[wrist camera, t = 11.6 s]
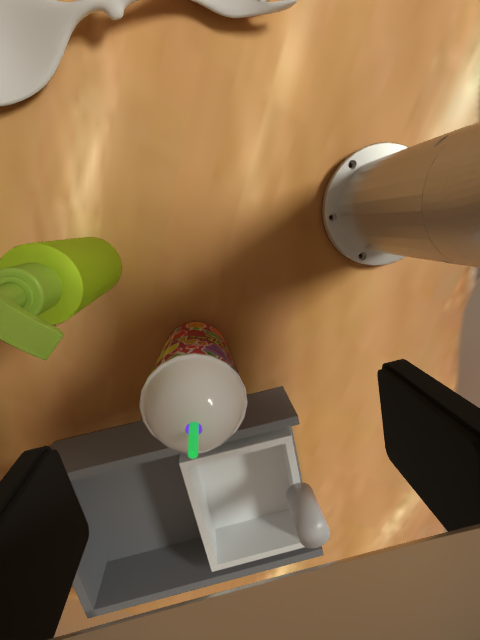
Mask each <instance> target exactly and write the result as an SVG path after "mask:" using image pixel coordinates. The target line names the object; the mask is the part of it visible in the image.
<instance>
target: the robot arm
mask: <svg viewBox="0 0 480 640" xmlns="http://www.w3.org/2000/svg"><path fill="white" fill-rule="evenodd" d="M349 163H350V164H351V168H349V166H348V164H349ZM322 213H323V223H324V226H325V230H326V233H327V235H328V237H329V239H330V241H331V243H332V244H333V245H334V247H335V248H336V249H337V250H338V251H339V252H340V253H341V254H342V255H344V256H345V257H346V258H348V259H350V260H352V261H354V262H357V263H361V264H365V265H371V266H377V265H386V264H390V263H393V262H396V261H398V260H400V259H402V258H404V257H405V256H407V257H413V258H420V259H426V260H432V261H439V262H445V263H452V264H459V265H467V266H473V267H480V121H479V122H476V123H474V124H471V125H469V126H466V127H463V128H461V129H458V130H455V131H453V132H450V133H447V134H444V135H442V136H439V137H436V138H434V139H431V140H428V141H425V142H423V143H420V144H417V145H415V146H412V147H407V146H404V145H401V144H398V143H390V142H384V143H375V144H372V145H369V146H366V147H364V148H362V149H360V150H358V151H356V152H354V153H353V154H351V155H350V156H349V157H347V158H346V159H345V160H344V161H343V162H342V163H341V164H340V165H339V166H338V167H337V169H336V170H335V172H334V173H333V175H332V176H331V178H330V180H329V183H328V185H327V187H326V190H325V194H324V198H323V208H322ZM330 215H331V216H332V219H331V220H329V216H330ZM359 254H361V257H360V258H359ZM378 384H379V394H380V403H381V412H382V421H383V430H384V439H385V448H386V452H387V455H388V457H389V459H390V460H391V462H392V463H393V464H394V466H395V467H396V468H397V469H398V470H399V472H400V473H401V474H402V475H403V477H404V478H405V479H406V480H407V482H408V483H409V484H410V485H411V487H412V488H413V489H414V490H415V491H416V493H417V494H418V495H419V496H420V498H421V499H422V500H423V501H424V503H425V504H426V505H427V506H428V508H429V509H430V510H431V511H432V512H433V514H434V515H435V516H436V517H437V519H438V520H439V521H440V522H441V524H442V525H443V526H444V527H445V529H446V530H447V531H448V532H446V533H442V534H438V535H434V536H430V537H426V538H421V539H417V540H414V541H410V542H406V543H402V544H398V545H395V546H391V547H387V548H383V549H380V550H376V551H372V552H368V553H364V554H361V555H357V556H353V557H349V558H345V559H342V560H338V561H334V562H330V563H327V564H323V565H319V566H315V567H311V568H308V569H304V570H300V571H296V572H293V573H289V574H285V575H281V576H278V577H274V578H270V579H267V580H263V581H259V582H256V583H252V584H248V585H244V586H241V587H237V588H233V589H230V590H226V591H222V592H219V593H215V594H211V595H208V596H204V597H200V598H197V599H193V600H189V601H185V602H182V603H178V604H174V605H171V606H167V607H163V608H160V609H156V610H152V611H149V612H145V613H142V614H138V615H134V616H131V617H127V618H124V619H120V620H117V621H113V622H109V623H106V624H102V625H98V626H95V627H91V628H88V629H84V630H80V631H77V632H73V633H70V634H66V635H62V636H59V637H55V638H53V637H54V635H55V632H56V629H57V626H58V623H59V620H60V618H61V615H62V612H63V609H64V606H65V603H66V601H67V598H68V595H69V592H70V589H71V587H72V584H73V581H74V578H75V575H76V573H77V570H78V567H79V564H80V561H81V558H82V556H83V553H84V550H85V547H86V544H87V541H88V538H89V526H88V523H87V520H86V518H85V515H84V513H83V510H82V508H81V506H80V503H79V501H78V498H77V496H76V493H75V491H74V489H73V486H72V484H71V481H70V479H69V476H68V474H67V472H66V469H65V467H64V464H63V462H62V459H61V457H60V454H59V453H58V451H57V450H55V449H53V450H52V449H51V448H50V447H49V446H44V447H40V448H36V449H31V450H27V451H24V452H23V453H22V454H21V456H20V457H19V458H18V459H17V461H16V462H15V463H14V465H13V466H12V467H11V468H10V470H9V471H8V472H7V474H6V475H5V476H4V478H3V479H2V480H1V481H0V640H480V408H478V407H477V406H475V405H474V404H472V403H471V402H469V401H468V400H466V399H465V398H463V397H461V396H460V395H458V394H457V393H455V392H454V391H452V390H451V389H449V388H448V387H446V386H445V385H443V384H442V383H440V382H439V381H437V380H436V379H434V378H432V377H431V376H429V375H428V374H426V373H425V372H423V371H422V370H420V369H419V368H417V367H416V366H414V365H413V364H411V363H410V362H408V361H407V360H405V359H401V360H397V361H392V362H388V363H384V364H383V366H382V369H381V370H378Z"/></svg>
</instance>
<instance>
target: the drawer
mask: <svg viewBox="0 0 480 640" xmlns="http://www.w3.org/2000/svg"><path fill="white" fill-rule="evenodd" d="M179 465H180V468H181V472H182V475H183V478H184V482H185V485H186V488H187V491H188V495H189V498H190V501H191V505H192V508H193V511H194V515H195V518H196V521H197V525H198V528H199V531H200V534H201V538H202V541H203V544H204V548H205V551H206V554H207V558H208V561H209V564H210V567H211V571H212V572H214V571H218V570H221V569H225V568H229V567H233V566H236V565H240V564H244V563H248V562H251V561H255V560H259V559H263V558H266V557H270V556H274V555H278V554H281V553H285V552H289V551H292V550H296V549H300V548H304V547H307V548H318V547H321V546H322V545H324V544H325V543H326V542H327V541H328V539H329V537H330V530H329V528H328V526H327V523H326V521H325V519H324V516H323V514H322V512H321V509H320V507H319V504H318V502H317V500H316V497H315V495H314V493H313V490H312V488H311V487H310V485H308V484H306V483H303V482H301V481H300V476H299V471H298V466H297V461H296V455H295V450H294V445H293V440H292V435H291V433H290V430H289V428H288V427H286V428H282V429H278V430H274V431H270V432H266V433H262V434H258V435H254V436H250V437H246V438H242V439H238V440H234V441H230V442H226V443H222V444H221V445H220V446H218V447H216V448H214V449H212V450H210V451H208V452H203V453H198V456H197V457H196V458H195V459H191V458H189V457H188V454H187V453H182V454H180V458H179Z"/></svg>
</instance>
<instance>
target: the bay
mask: <svg viewBox="0 0 480 640" xmlns="http://www.w3.org/2000/svg"><path fill="white" fill-rule="evenodd" d="M247 401H248V404H247V409H246V413H245V418H244V419H243V421H242V423H241V425H240V426H239V428H238V430H237V431H236V432H235V433H234V434H233V435H232V436H230V437H229V438H228V439H227V440H226V441H225V442H224V443H226V442H230V441H234V440H238V439H242V438H246V437H250V436H254V435H258V434H262V433H266V432H270V431H274V430H278V429H282V428H286V427H288V428H289V430H290V433H291V435H292V440H293V445H294V450H295V455H296V461H297V466H298V471H299V476H300V481H301V482H302V479H301V474H300V468H299V463H298V458H297V453H296V447H295V442H294V437H293V432H292V426H294V425H298V424H299V419H298V415H297V413H296V411H295V409H294V407H293V405H292V404H291V402H290V400H289V398H288V396H287V394H286V392H285V390H284V388H283V386H282V387H278V388H274V389H270V390H266V391H261V392H257V393H253V394H249V395H247ZM50 448H51V449H52V450H53V449H55V450H57V451H58V453H59V454H60V457H61V459H62V462H63V464H64V467H65V469H66V472H67V474H68V476H69V479H70V481H71V484H72V486H73V489H74V491H75V493H76V496H77V498H78V501H79V503H80V506H81V508H82V510H83V513H84V515H85V518H86V520H87V523H88V526H89V538H88V541H87V544H86V547H85V550H84V553H83V556H82V558H81V561H80V564H79V567H78V570H77V573H76V575H75V578H74V581H73V584H72V585H73V587H74V589H75V592H76V594H77V596H78V598H79V600H80V603H81V605H82V607H83V609H84V611H85V614H86V616H87V618H91V617H95V616H99V615H103V614H106V613H110V612H114V611H117V610H121V609H125V608H129V607H132V606H136V605H140V604H143V603H147V602H151V601H155V600H158V599H162V598H166V597H169V596H173V595H177V594H181V593H184V592H188V591H192V590H195V589H199V588H203V587H207V586H210V585H214V584H218V583H221V582H225V581H229V580H233V579H236V578H240V577H244V576H247V575H251V574H255V573H259V572H262V571H266V570H270V569H273V568H277V567H281V566H285V565H288V564H292V563H296V562H299V561H303V560H307V559H311V558H314V557H318V556H322V555H323V550H322V547H318V548H307V547H304V548H300V549H296V550H292V551H289V552H285V553H281V554H278V555H274V556H270V557H266V558H263V559H259V560H255V561H251V562H248V563H244V564H240V565H236V566H233V567H229V568H225V569H221V570H218V571H214V572H212V571H211V567H210V564H209V561H208V558H207V554H206V551H205V548H204V544H203V541H202V538H201V534H200V531H199V528H198V525H197V521H196V518H195V515H194V511H193V508H192V505H191V501H190V498H189V495H188V491H187V488H186V485H185V482H184V478H183V475H182V472H181V468H180V465H179V458H180V454H182V453H180V452H178V451H175V450H173V449H170V448H168V447H167V446H165V445H164V444H163V443H162V442H160V441H159V440H158V439H157V438H156V437H154V436H153V435H152V434H151V433H150V431H149V430H148V428H147V427H146V425H145V423H144V422H143V420H142V421H138V422H134V423H130V424H126V425H121V426H117V427H113V428H109V429H105V430H101V431H97V432H93V433H89V434H84V435H80V436H76V437H72V438H68V439H64V440H60V441H56V442H54V443H53V444H52V446H51V447H50Z"/></svg>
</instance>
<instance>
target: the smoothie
mask: <svg viewBox="0 0 480 640" xmlns="http://www.w3.org/2000/svg"><path fill="white" fill-rule="evenodd" d="M247 404H248V401H247V394H246V388H245V386H244V384H243V382H242V380H241V378H240V375H239V373H238V371H237V368H236V366H235V364H234V361H233V359H232V357H231V354H230V352H229V350H228V347H227V345H226V343H225V340H224V338H223V337H222V335H221V333H220V332H219V331H218V330H217V329H216V328H214V327H213V326H211V325H209V324H206V323H204V322H195V321H194V322H189V323H185V324H183V325H181V326H179V327H177V328H176V329H175V330H174V331H173V332H172V333H171V334H170V336H169V338H168V340H167V342H166V344H165V346H164V348H163V350H162V352H161V354H160V356H159V358H158V360H157V362H156V364H155V366H154V368H153V370H152V372H151V374H150V375H149V376H148V378H147V380H146V382H145V384H144V386H143V388H142V390H141V397H140V404H139V407H140V411H141V415H142V419H143V422H144V423H145V425H146V427H147V428H148V430H149V431H150V433H151V434H152V435H153V436H154V437H156V438H157V439H158V440H159V441H160V442H162V443H163V444H164V445H165V446H167V447H168V448H170V449H173V450H175V451H178V452H180V453H187V454H188V457H189V458H191V459H195V458H196V457H197V456H198V453H203V452H208V451H210V450H212V449H214V448H216V447H218V446H220V445H221V444H222V443H224V442H225V441H226V440H227V439H228V438H229V437H230V436H232V435H233V434H234V433H235V432H236V431H237V430H238V428H239V426H240V425H241V423H242V421H243V419H244V418H245V413H246V409H247Z"/></svg>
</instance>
